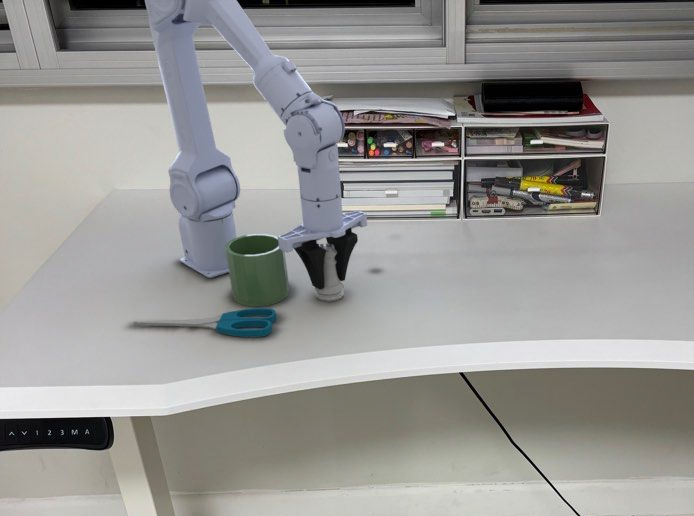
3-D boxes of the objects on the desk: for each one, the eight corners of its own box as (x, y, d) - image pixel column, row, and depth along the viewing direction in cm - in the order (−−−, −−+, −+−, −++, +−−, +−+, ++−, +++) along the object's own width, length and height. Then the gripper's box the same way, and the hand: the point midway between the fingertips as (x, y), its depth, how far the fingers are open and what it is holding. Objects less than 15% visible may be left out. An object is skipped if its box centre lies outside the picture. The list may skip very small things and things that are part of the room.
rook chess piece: (349, 292, 122) (345, 242, 117) (337, 304, 118) (332, 254, 114) (323, 287, 123) (318, 239, 118) (310, 300, 119) (304, 250, 115)
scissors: (269, 330, 109) (124, 331, 109) (270, 336, 110) (126, 337, 110) (277, 307, 115) (140, 309, 115) (278, 313, 115) (142, 315, 115)
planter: (222, 293, 121) (214, 244, 117) (268, 277, 126) (262, 229, 122) (253, 311, 116) (245, 261, 112) (300, 294, 121) (294, 244, 117)
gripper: (295, 215, 105) (305, 307, 113) (378, 189, 113) (382, 276, 121) (264, 201, 109) (276, 291, 117) (347, 178, 118) (353, 263, 125)
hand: (328, 282), depth 119 cm, fingers closed on rook chess piece, 3 cm apart
